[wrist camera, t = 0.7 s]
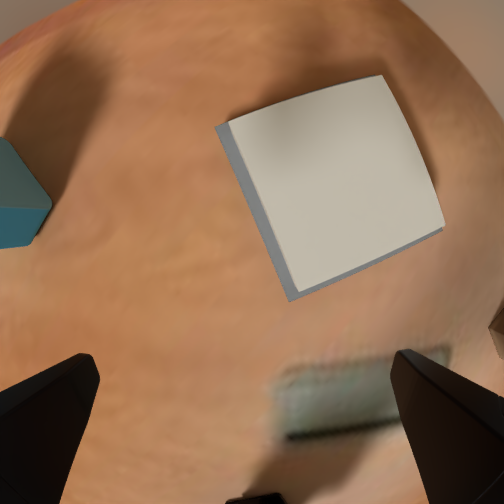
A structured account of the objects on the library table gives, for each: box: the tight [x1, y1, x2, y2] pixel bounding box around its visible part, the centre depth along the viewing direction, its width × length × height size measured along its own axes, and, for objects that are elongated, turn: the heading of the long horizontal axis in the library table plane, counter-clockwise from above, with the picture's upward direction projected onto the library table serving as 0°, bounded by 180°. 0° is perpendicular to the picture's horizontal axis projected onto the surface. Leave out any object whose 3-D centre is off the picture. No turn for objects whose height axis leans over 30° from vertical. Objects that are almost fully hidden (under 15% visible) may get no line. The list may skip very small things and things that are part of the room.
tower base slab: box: [215, 75, 443, 302], centre depth 21 cm, size 13×13×2 cm
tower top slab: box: [228, 75, 446, 292], centre depth 18 cm, size 11×11×2 cm
